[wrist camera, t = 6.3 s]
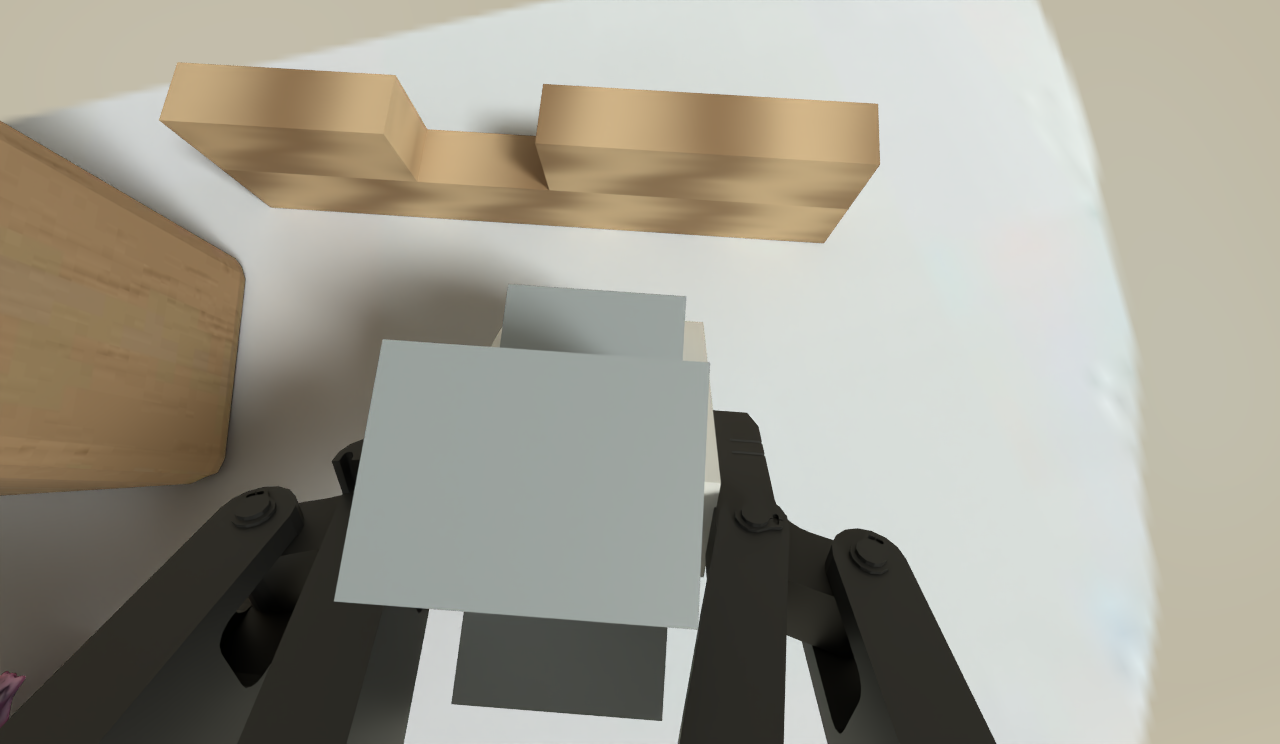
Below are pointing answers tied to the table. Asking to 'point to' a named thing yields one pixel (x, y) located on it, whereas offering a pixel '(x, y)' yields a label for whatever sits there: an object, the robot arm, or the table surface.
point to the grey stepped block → (541, 498)
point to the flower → (8, 693)
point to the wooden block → (107, 334)
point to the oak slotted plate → (534, 154)
